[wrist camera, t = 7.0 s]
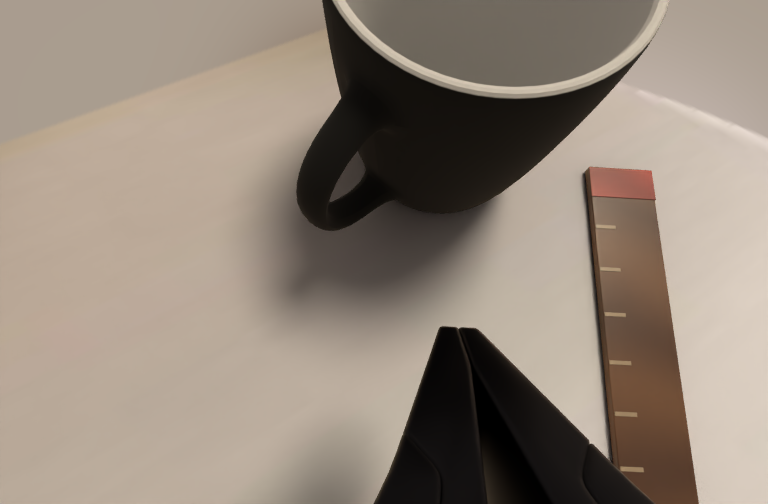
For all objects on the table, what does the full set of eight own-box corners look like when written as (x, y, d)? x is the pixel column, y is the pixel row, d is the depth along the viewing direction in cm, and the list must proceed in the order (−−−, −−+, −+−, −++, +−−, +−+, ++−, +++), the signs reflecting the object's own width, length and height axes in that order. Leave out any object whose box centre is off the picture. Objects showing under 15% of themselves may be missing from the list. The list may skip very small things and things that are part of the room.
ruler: (699, 557, 15) (709, 562, 15) (621, 554, 15) (628, 559, 15) (645, 175, 20) (651, 170, 20) (584, 171, 20) (589, 166, 19)
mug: (427, 45, 22) (474, -220, 12) (562, 151, 20) (742, -53, 10) (256, 194, 19) (136, 11, 9) (397, 329, 17) (430, 279, 8)
